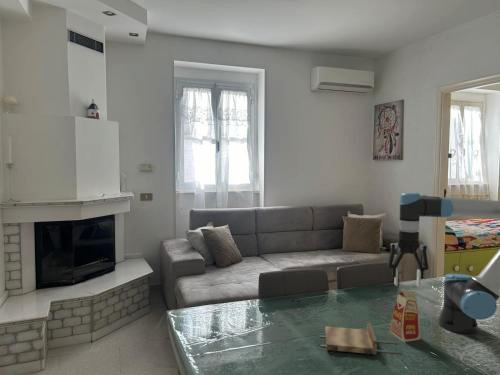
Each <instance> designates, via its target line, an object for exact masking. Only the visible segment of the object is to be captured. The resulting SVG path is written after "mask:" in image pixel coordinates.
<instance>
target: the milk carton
mask: <svg viewBox="0 0 500 375" xmlns="http://www.w3.org/2000/svg"><path fill="white" fill-rule="evenodd" d="M415 293H416V290H408V289H404V288H401V290H400V292H399V293H398V294H397V297H396V301H395V304H394V308H393V313H392V316H391V321H390V329H389V333H391V334H392V335H394V336H395V337H396V338H397V339H398V340H399V341H401V342H402V343H403V342H404V343H405V342H407V343H408V342H413V341H418V340H419V341H420V340H421V322H420V312H419V305H418V304H419V303H418V298H417V296H416V294H415Z"/></svg>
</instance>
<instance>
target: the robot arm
mask: <svg viewBox="0 0 500 375" xmlns="http://www.w3.org/2000/svg"><path fill="white" fill-rule="evenodd" d="M451 216H457V217H458V216H461V217H471V218H485V219H486V218H487V219H497V220H500V200H490V199H474V198H473V199H472V198H461V197H445V196H434V195H433V196H430V195H426V194H425V195H424V194H423V195H421V194H420V193H418V192H403V193H401V194H400V198H399V220H398V221H399V226H398V229H399V231H398V242H396V243H394V242H393V243H392V242H391V243H390V251H389V257H388V261H387V267H388V268H389V269H391V270H392V271H391V276H392V277H393V278H394V282H393V284H394V285H395V286H396V287H397V286H398V285H399V284H398V282H399V280H398V279H399V269H398V266H399V265H400V263H401V260H402V258H403V257H404V256H405V254H411V255H413V258H414V259H415V262H416V264H417V268H418V269H416V286H417V287H418V288H421V281H422V280H421V279H423V278H424V272H425V271H428V270H429V262H428V255H427V249H428V246H427V245H425V244H420V241H419V240H420V232H419V231H420V217H430V218H431V217H432V218H449V217H451ZM397 248H399V251H398V254H397V256H396V258H395V253H396V249H397ZM418 249H420V253H421V258H422V262H421V260H420V258H419V255H418V252H417V250H418ZM394 258H395V260H394ZM443 282H444V283H443V307H442V309H441V311H440V313H439V316H438V319H437V320H438V325H439V326H440V327H441V328H443V329H445V330H446V331H447V330H448V331H451V332H453V333H459V334H466V335H467V334H468V335H470V334H475V333H478V331H479V330H478V327H479V326H478V325H479V324H478V321H477V320H479V321H481V320H487V319H490V318H491V317H493V315H495V313H497V312H496V311H497V308H498V306H497V301H498V299H499V298H500V248H499V249H498V250H497V251H496V252H495V254H494V255H493V257H492V258H491V259H490V260H489V261H488V263H487V264H486V265H485V266H484V267H483V268H482V270H481V271H480V272H479V274H478V275H473V276H472V275H469V274H463V273H447V274H445V275H444V280H443Z"/></svg>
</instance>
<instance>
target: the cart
mask: <svg viewBox="0 0 500 375" xmlns="http://www.w3.org/2000/svg"><path fill="white" fill-rule="evenodd" d="M324 329H325V331H324V332H325V336H326V338H325V343H326V344H325V345H326V347H325V348H326V350H327V351H333V352H347V353H348V352H349V353H359V354H366V355H377V353H378V352H377V350H378V342H377V337H376V335H375V332H374V329H373V326H372V324H371V322H367V323H366V329H364V328H351V327H350V328H348V327H339V326H337V327H336V326H326V325H325V328H324Z"/></svg>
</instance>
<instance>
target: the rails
mask: <svg viewBox="0 0 500 375" xmlns="http://www.w3.org/2000/svg"><path fill="white" fill-rule="evenodd" d="M319 338H325V339H326V335H319ZM376 340H377V339H376ZM377 343H380V344H383V343H384V344H393V345H398V343H397V341H389V340H388V341H387V340H377ZM319 346H320V347H322V348H326V344H320V345H319ZM376 353H386V354H396V355H402V354H403V353H402V351H395V350H394V351H393V350H383V349H377V352H376Z"/></svg>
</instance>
